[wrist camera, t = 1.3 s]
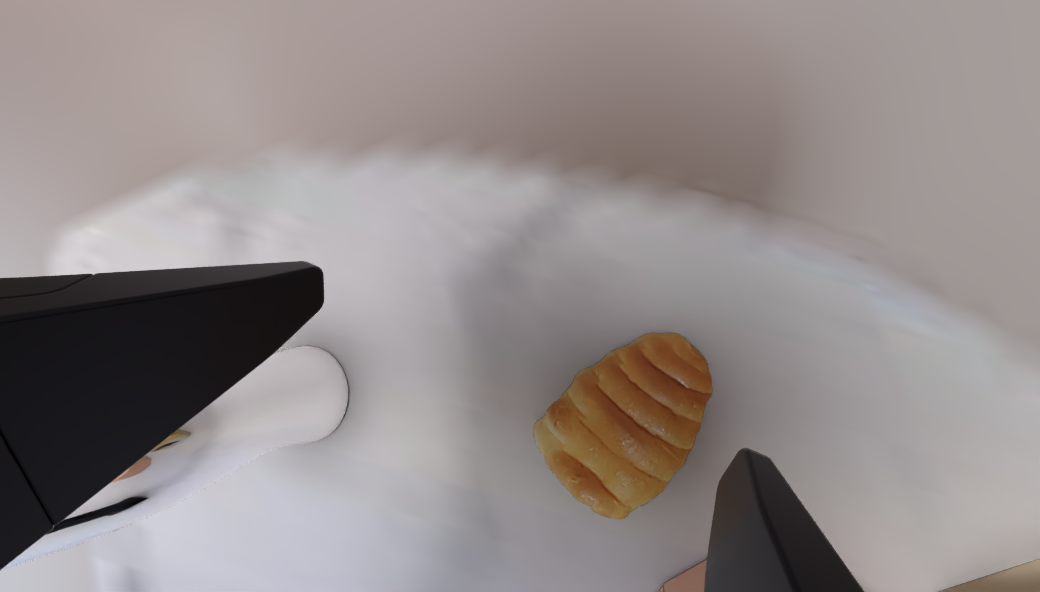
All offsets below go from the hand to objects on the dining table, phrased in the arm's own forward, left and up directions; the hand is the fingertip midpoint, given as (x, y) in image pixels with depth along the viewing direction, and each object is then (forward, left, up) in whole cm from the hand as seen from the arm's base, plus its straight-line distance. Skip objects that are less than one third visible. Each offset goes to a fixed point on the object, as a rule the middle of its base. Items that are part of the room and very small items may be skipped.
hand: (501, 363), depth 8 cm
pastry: (-3, -3, -16) cm, 17 cm away
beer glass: (-11, +14, -16) cm, 24 cm away
